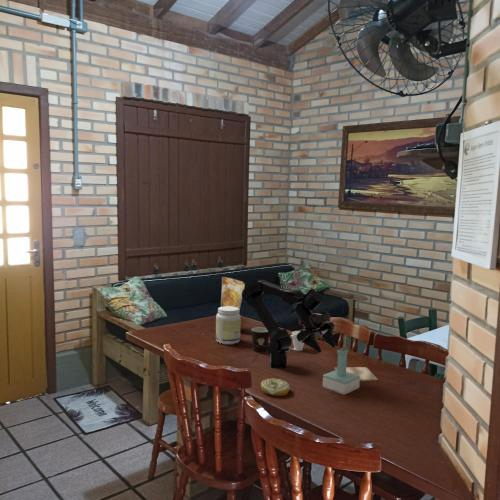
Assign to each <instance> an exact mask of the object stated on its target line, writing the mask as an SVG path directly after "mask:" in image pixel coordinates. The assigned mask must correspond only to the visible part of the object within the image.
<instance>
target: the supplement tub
mask: <svg viewBox="0 0 500 500" xmlns="http://www.w3.org/2000/svg"><path fill="white" fill-rule="evenodd" d="M241 320H242V319H241V314H240V311H239V308H237V307H232V306H224V307H221V306H220V307H218V308H217V313H216V316H215V341H216V343H218V342H219V344H221V343H222V345H235V343H236V344H238V343H239V342H240V340H241Z"/></svg>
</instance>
